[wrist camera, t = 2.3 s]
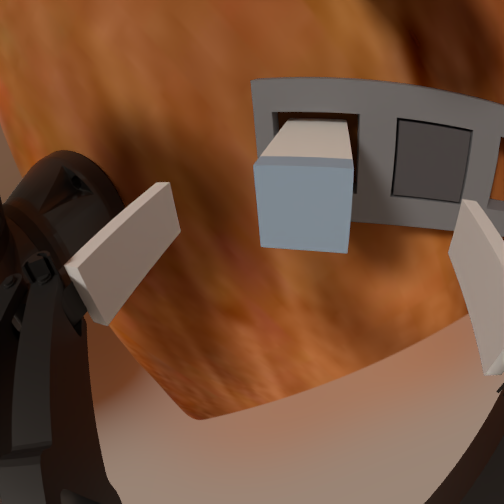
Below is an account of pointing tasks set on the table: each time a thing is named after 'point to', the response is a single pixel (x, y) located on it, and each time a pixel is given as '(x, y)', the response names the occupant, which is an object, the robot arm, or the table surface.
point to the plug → (306, 186)
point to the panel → (400, 145)
